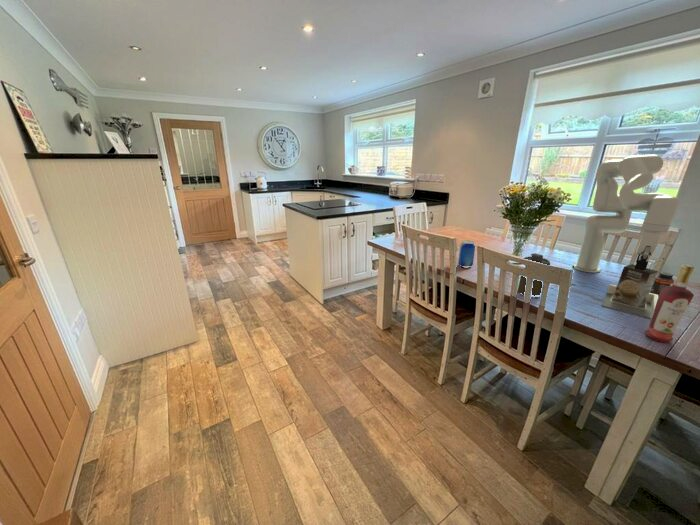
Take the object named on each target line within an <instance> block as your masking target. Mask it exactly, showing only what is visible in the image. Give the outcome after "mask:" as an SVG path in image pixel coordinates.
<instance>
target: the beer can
mask: <svg viewBox="0 0 700 525" xmlns="http://www.w3.org/2000/svg"><path fill="white" fill-rule="evenodd" d="M475 251H476V244H475V241H473V240H468V239H467V240H463V241H462V242H461V243H460V245H459V255H458V262H457V264H459V265H461V266H472V265H474V260H475V254H476V253H475ZM459 265H458V266H459ZM472 267H473V266H472Z"/></svg>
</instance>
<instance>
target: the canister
mask: <svg viewBox="0 0 700 525" xmlns="http://www.w3.org/2000/svg"><path fill="white" fill-rule="evenodd" d="M530 255H531V256H525V257H523V259H528V260H532V261H536V262H540V263H543V264H547V265H550V266H551V262H550V260H548V259H546V258H544V255H542V254H539V253H532V254H531V253H530ZM525 285H526V278H525V277H523V276H521V275H520V278H519V283H518V287H517V290H518V292H517V293H518V294H519V293H522V294H523V295H524V292H525ZM541 288H542V282H541V281H537V280H534V281H533V288H532V295H534V296H535V295H540V293H541ZM523 295H522V296H523Z"/></svg>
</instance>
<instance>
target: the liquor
mask: <svg viewBox="0 0 700 525" xmlns="http://www.w3.org/2000/svg"><path fill="white" fill-rule="evenodd" d="M694 268H695V267H694V266H692V265H688V264H681V266H680V268H679V273H678V276H676V279H675V280H674V283H673V286H666V287H662V288H661V291H660V294H659V297H658V300H657V303H656V307H655V310H654V313H653V316H652V319H650V323H649V325H648V328H647V329H645V331H644V333H645V335H647V336H648V338H650V339H651V338H652V339H651V340H653V339H654V340H653V341H656V340H657V341H656V342H659V341H661V342H660V343H667V342H673V340H674V339H673V335H674V334H675V332H676V329H677V327H678V326H679V323H680V321H681V320H682V318H683V317H684V315H685V313H686V311H687V309H688V307H689V306H690V303H691V302H692V300H693V298H694V296H695V295H694V293H693V292H692V291H691V290H689V289H687V286H688V283H689V279H690V276H691V275H692V273H693V271H694Z"/></svg>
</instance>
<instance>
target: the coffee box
mask: <svg viewBox="0 0 700 525" xmlns="http://www.w3.org/2000/svg"><path fill="white" fill-rule="evenodd" d="M635 265H636V264H631V263H630V264H627V265H625V266H623V268H622V271H621V274H620V276H619V279H618V282H617V285H616V286H617V288H616V290H615V293H614V296H613V299H616V300H619V301H621V302H624V303H627V304H629V305H632V306H635V307H638V306H641V305H644V304H645V302H646V299H647V297H648V294H649V293H650V290H651V287H652V285H653V282H654V280H655V277H657V275H658V272H659V271H658V270H654V269H651V268H648V267H646V270H645V271H642V270H637V269H634V268H635Z"/></svg>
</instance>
